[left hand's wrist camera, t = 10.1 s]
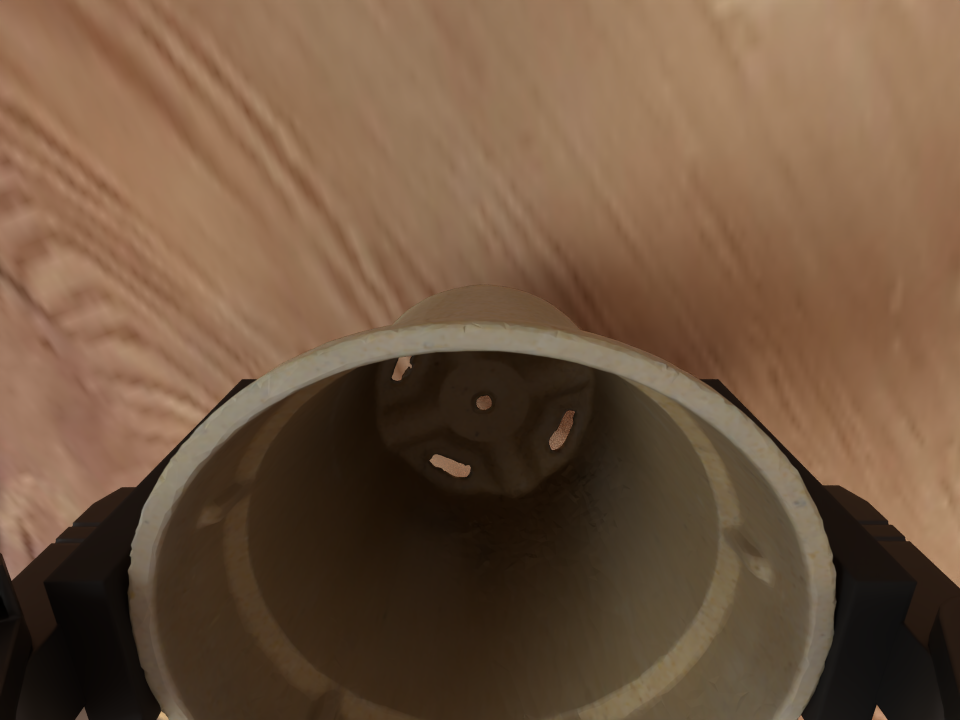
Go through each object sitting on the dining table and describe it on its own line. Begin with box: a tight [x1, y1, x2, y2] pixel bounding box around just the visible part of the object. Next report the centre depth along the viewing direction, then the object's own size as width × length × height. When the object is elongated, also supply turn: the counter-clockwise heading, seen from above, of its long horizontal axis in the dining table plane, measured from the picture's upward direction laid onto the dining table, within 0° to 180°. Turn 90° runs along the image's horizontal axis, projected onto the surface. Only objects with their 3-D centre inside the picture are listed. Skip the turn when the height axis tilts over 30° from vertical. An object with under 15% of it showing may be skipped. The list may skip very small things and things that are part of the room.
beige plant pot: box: [128, 285, 837, 720], centre depth 12 cm, size 9×9×9 cm
